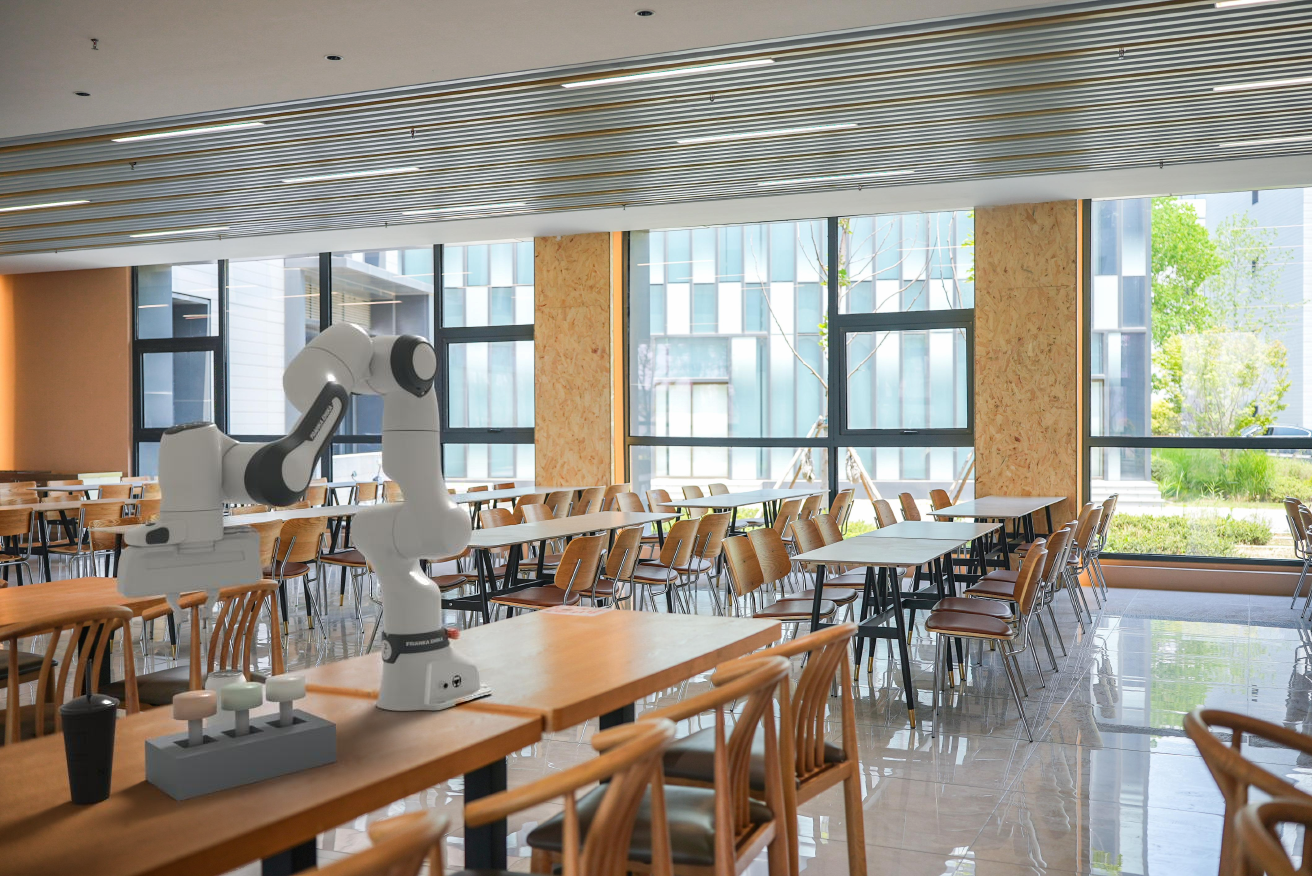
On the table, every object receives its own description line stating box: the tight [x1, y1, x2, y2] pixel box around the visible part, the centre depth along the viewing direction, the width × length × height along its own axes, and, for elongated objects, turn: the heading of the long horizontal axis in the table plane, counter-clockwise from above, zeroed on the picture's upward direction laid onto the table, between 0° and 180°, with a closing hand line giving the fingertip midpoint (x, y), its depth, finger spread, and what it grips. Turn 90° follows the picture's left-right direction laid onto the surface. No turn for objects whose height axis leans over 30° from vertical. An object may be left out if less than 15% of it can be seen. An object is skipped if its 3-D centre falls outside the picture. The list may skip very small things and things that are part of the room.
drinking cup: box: [58, 658, 120, 806], centre depth 144 cm, size 8×8×20 cm
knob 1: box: [172, 689, 217, 748], centre depth 151 cm, size 6×6×8 cm
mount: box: [144, 708, 338, 802], centre depth 156 cm, size 24×14×6 cm, turn 134°
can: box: [204, 668, 247, 727], centre depth 171 cm, size 6×6×12 cm
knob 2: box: [264, 673, 307, 728], centre depth 161 cm, size 6×6×8 cm
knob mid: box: [221, 681, 264, 737], centre depth 156 cm, size 6×6×8 cm
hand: (193, 621), depth 151 cm, fingers open, 2 cm apart
